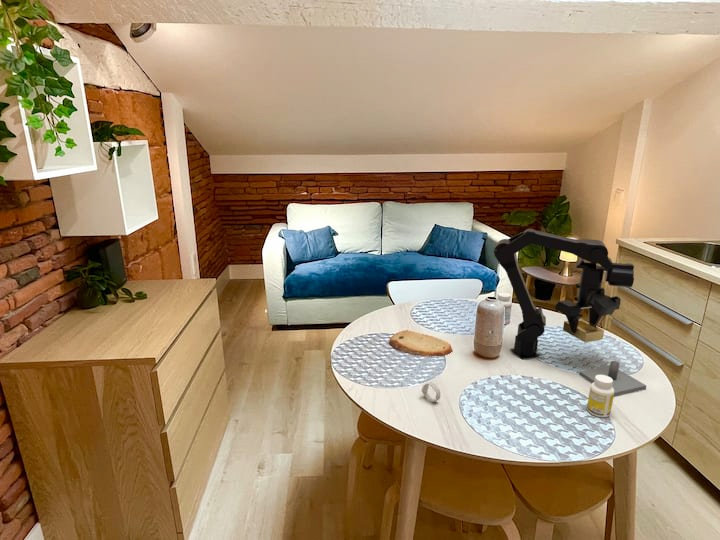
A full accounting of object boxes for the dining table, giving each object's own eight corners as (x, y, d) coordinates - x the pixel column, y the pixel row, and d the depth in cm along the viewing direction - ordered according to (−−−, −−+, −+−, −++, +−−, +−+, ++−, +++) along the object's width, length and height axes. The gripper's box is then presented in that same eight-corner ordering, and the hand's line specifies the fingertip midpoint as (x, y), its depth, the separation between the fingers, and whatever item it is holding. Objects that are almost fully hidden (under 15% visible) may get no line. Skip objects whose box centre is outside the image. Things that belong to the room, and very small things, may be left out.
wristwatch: (427, 394, 120) (428, 378, 119) (441, 402, 117) (442, 386, 115) (420, 398, 118) (421, 382, 117) (434, 406, 115) (435, 390, 113)
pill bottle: (489, 319, 168) (492, 292, 165) (502, 317, 170) (505, 290, 167) (499, 326, 163) (502, 298, 159) (513, 323, 165) (516, 296, 161)
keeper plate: (612, 396, 119) (616, 377, 117) (578, 374, 130) (582, 356, 128) (645, 389, 122) (650, 369, 120) (610, 368, 133) (613, 350, 131)
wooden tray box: (585, 342, 128) (586, 333, 128) (562, 330, 137) (564, 321, 136) (602, 339, 130) (604, 330, 129) (579, 327, 139) (581, 318, 138)
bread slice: (456, 354, 143) (457, 343, 142) (408, 364, 136) (408, 353, 135) (429, 332, 159) (429, 322, 158) (384, 340, 152) (384, 330, 151)
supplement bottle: (602, 405, 115) (608, 372, 112) (614, 418, 110) (621, 384, 107) (582, 405, 115) (588, 373, 112) (593, 418, 110) (599, 384, 107)
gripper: (586, 295, 118) (578, 347, 123) (638, 288, 124) (629, 337, 129) (557, 283, 129) (550, 331, 133) (606, 276, 134) (598, 323, 139)
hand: (582, 330), depth 133 cm, fingers closed on wooden tray box, 7 cm apart
